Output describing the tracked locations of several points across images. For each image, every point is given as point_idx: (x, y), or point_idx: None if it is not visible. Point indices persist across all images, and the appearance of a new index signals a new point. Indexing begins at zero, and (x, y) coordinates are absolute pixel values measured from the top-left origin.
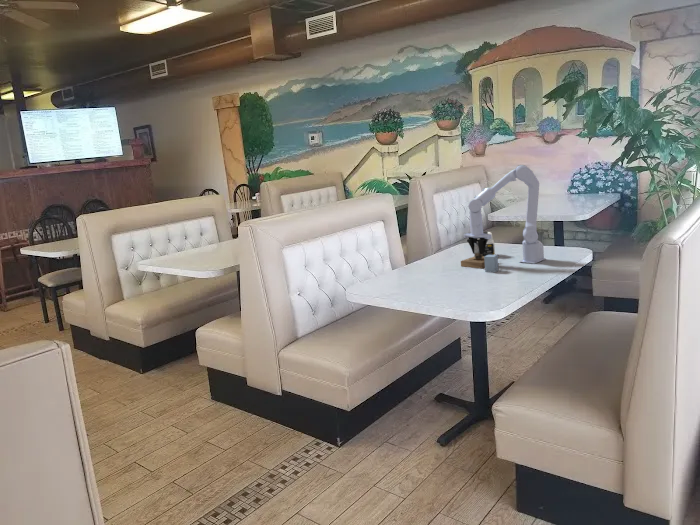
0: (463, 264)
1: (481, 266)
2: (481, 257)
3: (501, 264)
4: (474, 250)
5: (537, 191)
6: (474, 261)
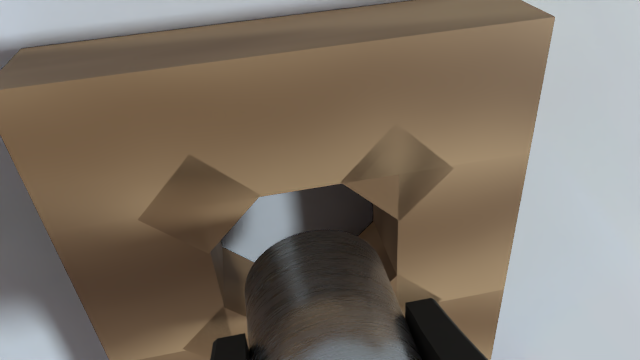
0: (460, 6)
1: (13, 63)
2: (245, 298)
3: (34, 349)
4: (382, 354)
5: None
6: (249, 121)
